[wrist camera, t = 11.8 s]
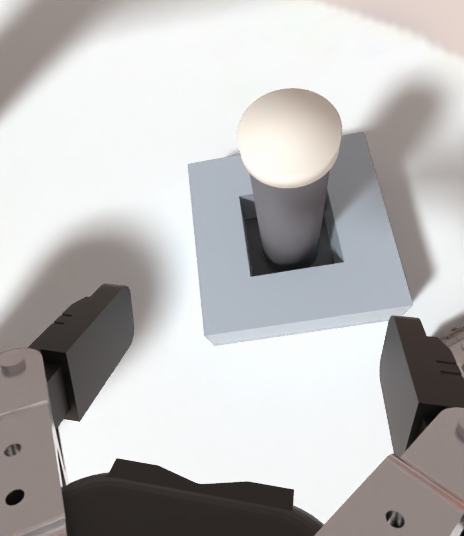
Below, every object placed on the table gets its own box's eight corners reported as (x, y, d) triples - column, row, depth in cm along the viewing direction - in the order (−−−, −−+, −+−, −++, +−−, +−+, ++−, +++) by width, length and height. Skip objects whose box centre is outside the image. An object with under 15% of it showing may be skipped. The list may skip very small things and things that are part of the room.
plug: (264, 283, 34) (244, 183, 20) (255, 227, 36) (231, 99, 21) (326, 273, 33) (352, 164, 19) (314, 217, 35) (330, 79, 21)
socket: (214, 345, 33) (204, 335, 29) (198, 189, 38) (187, 164, 34) (398, 319, 31) (412, 305, 28) (356, 161, 36) (364, 131, 33)
